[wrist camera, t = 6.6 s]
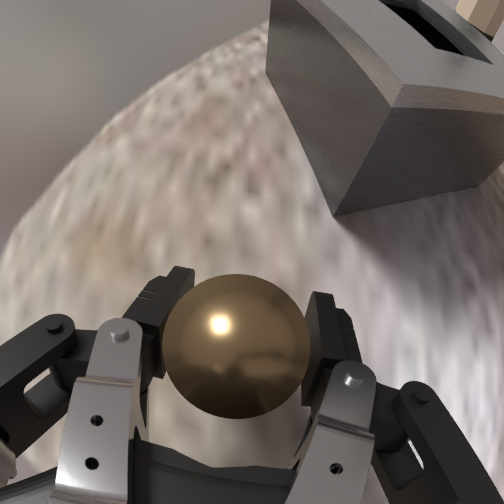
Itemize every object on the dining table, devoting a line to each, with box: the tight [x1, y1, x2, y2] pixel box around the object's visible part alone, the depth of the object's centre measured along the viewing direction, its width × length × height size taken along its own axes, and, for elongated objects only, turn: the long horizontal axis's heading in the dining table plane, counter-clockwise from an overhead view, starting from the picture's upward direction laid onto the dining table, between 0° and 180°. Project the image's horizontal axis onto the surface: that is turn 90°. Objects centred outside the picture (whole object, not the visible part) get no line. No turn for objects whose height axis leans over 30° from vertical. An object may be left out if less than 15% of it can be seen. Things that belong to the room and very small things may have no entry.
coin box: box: [265, 0, 504, 216], centre depth 16 cm, size 14×14×10 cm
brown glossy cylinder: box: [162, 274, 311, 419], centre depth 10 cm, size 3×3×9 cm
